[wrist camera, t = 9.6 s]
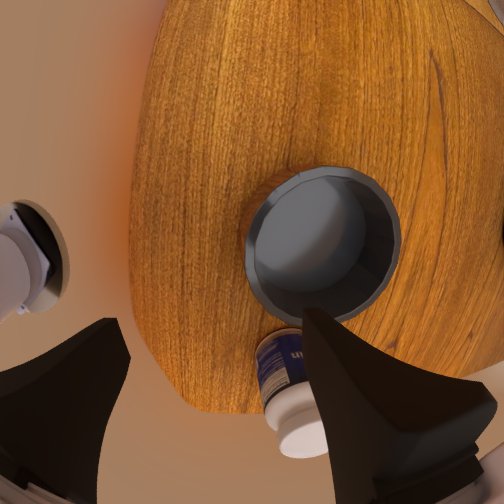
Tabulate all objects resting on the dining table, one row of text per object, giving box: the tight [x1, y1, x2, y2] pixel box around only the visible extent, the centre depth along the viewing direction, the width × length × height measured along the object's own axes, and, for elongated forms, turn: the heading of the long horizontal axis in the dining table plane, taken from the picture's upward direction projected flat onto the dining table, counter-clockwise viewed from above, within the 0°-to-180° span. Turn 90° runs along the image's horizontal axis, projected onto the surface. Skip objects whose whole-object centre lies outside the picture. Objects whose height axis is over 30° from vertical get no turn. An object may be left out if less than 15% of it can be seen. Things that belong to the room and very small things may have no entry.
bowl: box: [239, 164, 401, 327], centre depth 18 cm, size 10×10×4 cm
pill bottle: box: [255, 328, 328, 458], centre depth 19 cm, size 6×6×10 cm
